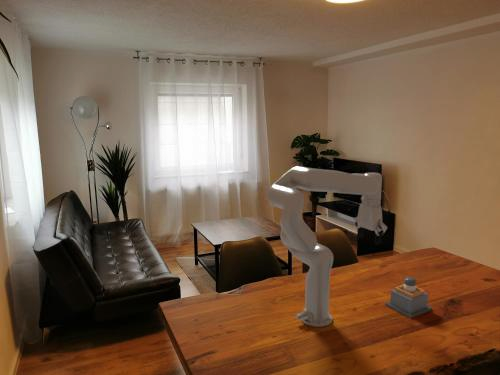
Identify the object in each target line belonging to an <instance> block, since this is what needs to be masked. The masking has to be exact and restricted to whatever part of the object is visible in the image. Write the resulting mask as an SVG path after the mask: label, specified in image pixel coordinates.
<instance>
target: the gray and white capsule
mask: <svg viewBox="0 0 500 375" xmlns="http://www.w3.org/2000/svg"><path fill="white" fill-rule="evenodd" d="M403 278H404V279H403V284H404V291H406V292H408V293H410V294H412V293H415V292H416V287H417V278H415V277H413V276H406V277H403Z"/></svg>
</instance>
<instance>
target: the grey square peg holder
mask: <svg viewBox="0 0 500 375" xmlns="http://www.w3.org/2000/svg"><path fill="white" fill-rule="evenodd" d="M428 299H429V293H427V292H425V290H424V289H422V288H421V287H418V286H416V292H415V293H412V294H410V293H408V292H406V291H404V283H403V284H401V285H398V286H394V289H392V290H391V291H390V300H389V301H387V302H385V303H384V306H386V307H388V308H390V309H391V310H394V311H395V312H398V313H399V314H401V315H403V316H405V317H407V318H409V319H412V318H414V317H418V316H420V315H422V314H425V313H426V312H427V313H428V312H429V311H432V310H433V307H432V306H430V305H428Z"/></svg>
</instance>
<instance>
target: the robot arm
mask: <svg viewBox="0 0 500 375" xmlns="http://www.w3.org/2000/svg"><path fill="white" fill-rule="evenodd" d="M382 182H383V176H382V174H381V173H379V172H365V173H359V172H358V173H357V172H355V173H349V172H345V171H339V170H335V169H333V170H332V169H321V168H314V167H313V168H311V167H306V166H301V165H297V166H294V167H292V168H290V169H288V171H286V172H285V173H284V174H283V175H282V176H280V177H279V178H278V179H277V180H276V181H275V182H274V183H272V185H270V187H269V189H268V190H267V192H266V200H267V202H268V203H269V204H270V205H271V206H273V207H275V208H278V209H281V210H282V212H281V216H280V221H279V225H280V235H279V236H280V239H281V242H282V244H283V245H284V247H286V249H287V250H288V251H289V252H290V253H291V254H292V255H293V256H294V258H296V259H297V260H298V261H300V262H302V263H303V264H305V265H307V266H309V269H308V270H307V273H306V275H305V290H304V291H305V295H304V296H305V297H304V298H305V300H304V305H305V306H304V308H303V309H302V312H300V313H297V314H295V316H294V317H295V319H296V320H297V321H299V320H301V321H302V322H303V323H304V324H305V325H308V326H309V327H314V328H315V327H316V328H323V327H327V326H330V325H331V324H332V322H333V316H332V313H329V311H330V289H331V288H330V287H331V286H330V281H331V271H332V267H333V263H334V254H333V252H332V250H331V249H330V248H328V247H327V246H326V245H322V244H321V243H318V239H317V236H316V234H315V233H314V232H313V230H311V228H310V227H309V226H308V224H307V223H306V222H305V220H304V219H303V217H302V216H303V215H302V213H303V210H304V206H305V199H304V198H305V196H304V195H303V193H302V192H301V191H300V190H304V191H308V192H309V191H310V192H323V193H324V192H325V193H326V192H327V193H337V194H349V195H357V196H358V195H360V196H361V197H360V201H361V203H360V204H359V207H358V212H357V216H356V217H354V218H353V219H354V220H353V221H354V222H355V223H354V225H355V226H356V229H357V239H361V238H364V235H365V229H366V230H368V231H374V232H375V236H374V245H376V246H377V245H380V244H381V243H382V238H383V237H382V236H383V235H384V234H385V233H386V231H387V229H388V226H387V225H386V224H385V223H384V222H383V210H382V206H381V200H382V184H383V183H382ZM298 189H300V190H298Z"/></svg>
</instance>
